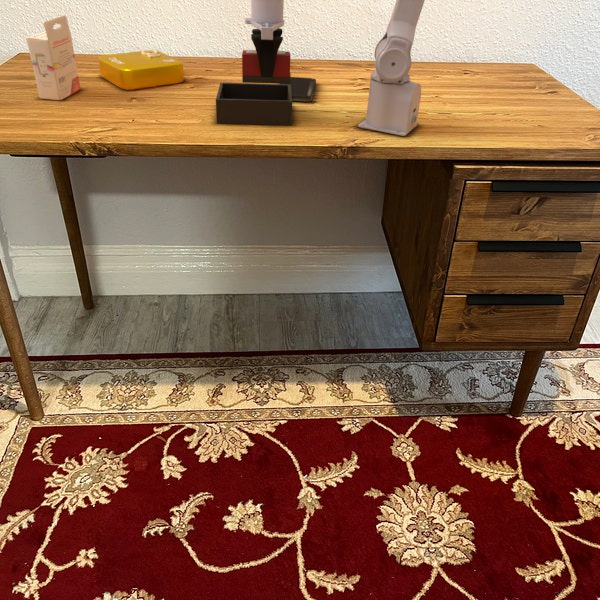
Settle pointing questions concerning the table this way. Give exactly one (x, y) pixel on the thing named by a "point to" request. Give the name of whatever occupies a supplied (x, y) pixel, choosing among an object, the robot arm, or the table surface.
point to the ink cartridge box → (54, 60)
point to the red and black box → (253, 71)
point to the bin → (254, 104)
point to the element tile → (141, 69)
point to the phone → (302, 89)
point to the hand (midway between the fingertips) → (266, 73)
